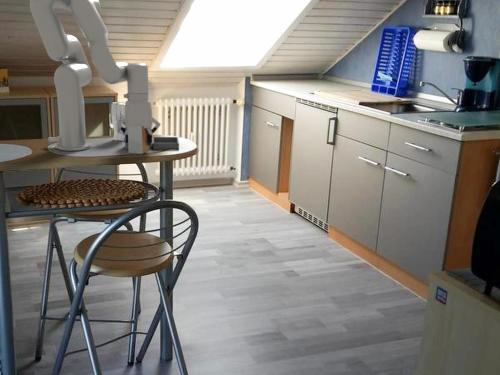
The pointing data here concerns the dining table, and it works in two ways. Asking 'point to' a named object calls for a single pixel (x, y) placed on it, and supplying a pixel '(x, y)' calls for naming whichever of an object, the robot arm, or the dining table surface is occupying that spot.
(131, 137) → the small box
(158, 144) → the tray
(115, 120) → the beer glass
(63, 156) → the dining table surface
